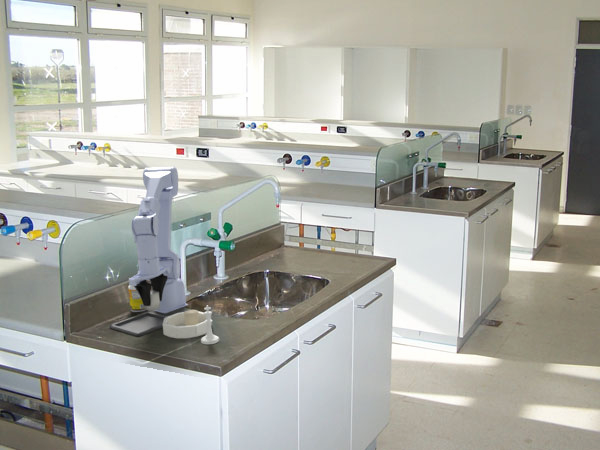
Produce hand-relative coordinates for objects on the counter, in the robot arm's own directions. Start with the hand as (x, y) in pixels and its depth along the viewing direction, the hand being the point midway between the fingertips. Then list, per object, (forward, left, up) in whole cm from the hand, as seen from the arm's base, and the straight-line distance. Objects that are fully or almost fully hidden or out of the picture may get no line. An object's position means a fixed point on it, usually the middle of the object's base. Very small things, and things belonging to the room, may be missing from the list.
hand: (152, 303), depth 204 cm
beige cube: (-4, +12, -6) cm, 14 cm away
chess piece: (0, +23, -7) cm, 24 cm away
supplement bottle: (-7, -15, -7) cm, 18 cm away
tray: (+2, -2, -7) cm, 7 cm away
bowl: (-2, +12, -7) cm, 14 cm away
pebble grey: (0, 0, -1) cm, 1 cm away
